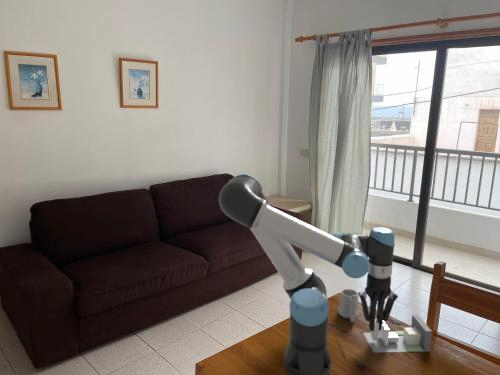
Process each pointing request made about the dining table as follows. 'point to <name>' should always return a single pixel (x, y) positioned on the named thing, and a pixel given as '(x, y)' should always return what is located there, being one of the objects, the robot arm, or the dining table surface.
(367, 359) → the dining table surface
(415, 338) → the block
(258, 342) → the dining table surface
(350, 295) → the mug
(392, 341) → the plunger
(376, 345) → the bench
